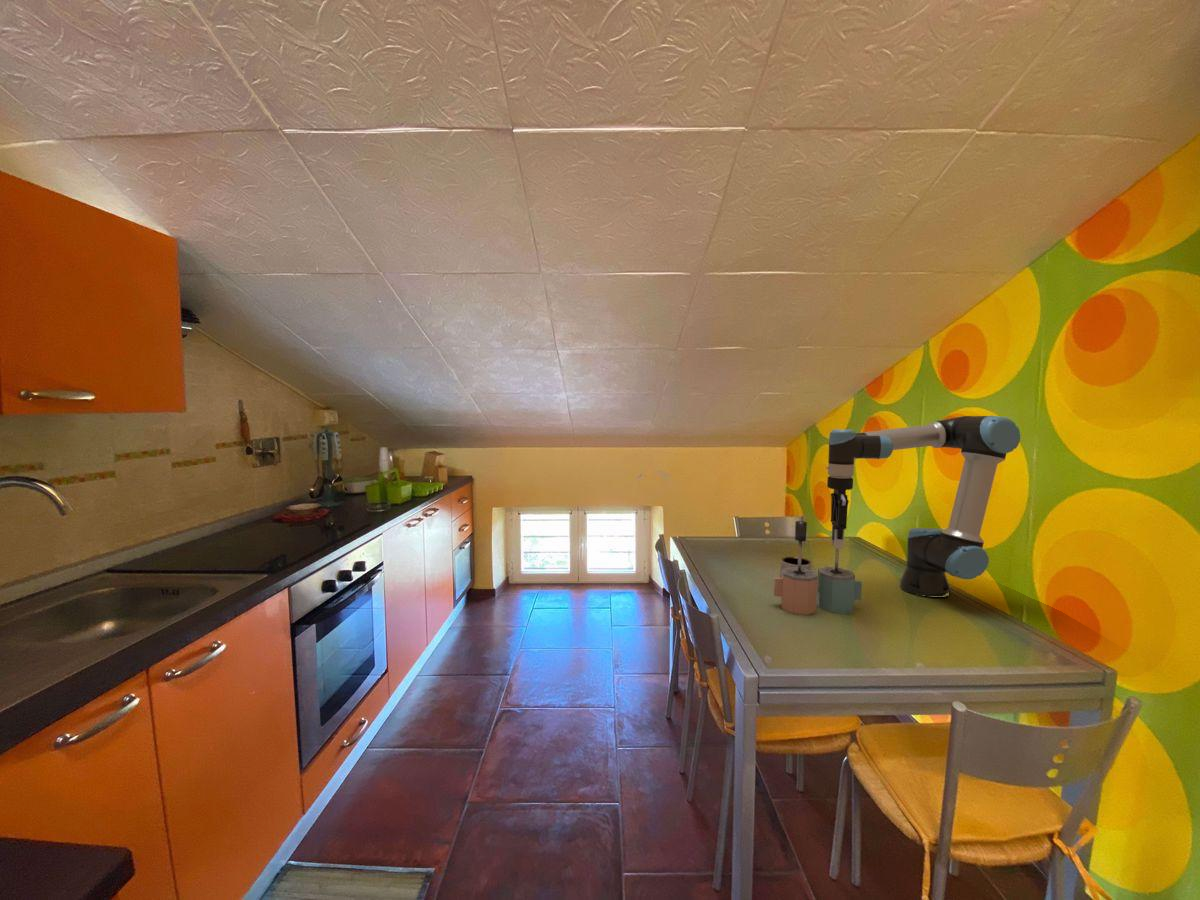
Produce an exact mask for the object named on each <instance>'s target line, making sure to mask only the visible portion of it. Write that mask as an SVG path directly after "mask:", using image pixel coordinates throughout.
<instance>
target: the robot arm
mask: <svg viewBox="0 0 1200 900" xmlns="http://www.w3.org/2000/svg"><path fill="white" fill-rule="evenodd" d="M828 438H829V439H828V457H827V458H828V460H827V461H828V462H827V463H828V465H827V466H826V467H825V469H827V475H828V476H827V484H826V485H827V486H826V487H827V488H828V489H831V490H833V492H831V493H830V499H831V501H830V503H831V504H830V505H831V506H830V522H831V524H832V525H833V521H836V527H833V529H835V535H834V540H832V539H831V543H830V544H831V546H833V548H834V549H835V550H836V549H839V550H844V548H845V547H844V546H845V543H844V542H845V530H847V528H848V527H847V521H848V505H849V499H848V495H847V494H846V493H847V492H846V491H850V490H852V489H854V488H853V487H854V478H853V477H854V475H855V473H854V472H855V471H854V470H855V460H857V459H866V460H867V459H872V460H873V459H875V460H876V459H877V460H881V459H888V458H889V457H891V456H892V453H893V451H898V450H906V449H913V448H914V449H915V448H922V447H923V448H924V447H932V448H934V449H939V448H951V449H960V455H962V457H963V459H964V462H963V467H962V469H961V474H960V478H959V482H958V485H957V488H956V489H957V490H956V494H955V497H954V498H955V499H954V502H953V506H952V510H951V513H950V517H949V522H948V526H947V527H946V528H945V529H943V528H933V527H931V528H929V527H914V528H913V527H912V528H910V529H909V531H908V534H907V537H906V538H907V552H906V553H907V554H906V566H905V570H904V572H903V573H902V575H901V577H900V581H899V587H901V588H902V589H901V588H900V589H901V590H902V591H904V590H905V591H904V592H906V591H908V592H907V593H909V592H911V593H910V594H912V593H914V594H913V595H915V594H918V595H917V596H919V595H925V596H943V595H945V594H946V593H948V592H949V590H950V591H951V588H950V584H949V582H948V581H949V580H948V579H947V575H946V574H948V575H950V576H951V577H954V578H955V577H956V578H959V579H962V580H973V579H976V578H977V577H978V576H979V577H980V576H981V575H983V574H984V573H985V571H986V570H987V568H988V566H989V563H990V559H989V558H990V557H989V555H988V552H986V550H985V549H984V548H983V547H984V543H985V541H984V540H983V538H982V536H981V530H982V527H983V524H984V519H985V515H986V511H987V508H988V503H989V498H990V495H991V492H992V488H993V485H994V484H993V483H994V480H995V475H996V471H997V467H998V465H999V464H1000V463H1003V462H1005V460H1006V456H1007V454H1008V453H1011V452H1013V451H1014V450H1016V449H1017V447H1018V446H1019V444H1020V442H1021V431H1020V429H1019V426H1017V425H1016V423H1015V422H1014V421H1013V420H1012V419H1010V418H1008V417H1006V416H998V415H962V416H957V417H951V418H946V419H942V420H934V421H933V420H932V421H930V422H928V424H924V425H915V426H906V427H898V428H888V429H881V430H872V431H864V432H856V431H855V430H854V429H831V431H830V432H829V437H828ZM832 525H831V526H832Z"/></svg>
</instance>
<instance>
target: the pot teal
mask: <svg viewBox="0 0 1200 900" xmlns="http://www.w3.org/2000/svg"><path fill="white" fill-rule="evenodd" d="M862 585H863V584H862V581H861V580H858V579H856V575H855V573H854V572H853V571H852V570H849V569H846V568H843V567H838V574H835V566H823V567H819V568H817V601H816V605H817V606H818V608H819V609H821V610H824V611H826V612H828V613H833V614H841V615H842V614H843V615H847V614H850V613H853V612H854V609H855V608H854V607H855V606H854V605H855V600H858V601H862Z"/></svg>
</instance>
